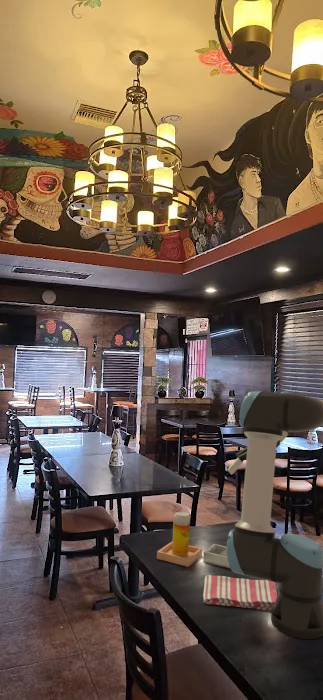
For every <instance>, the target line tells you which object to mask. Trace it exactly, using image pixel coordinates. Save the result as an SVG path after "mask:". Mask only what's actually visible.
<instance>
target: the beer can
mask: <svg viewBox="0 0 323 700" xmlns="http://www.w3.org/2000/svg"><path fill="white" fill-rule="evenodd" d="M172 523H173V524H172V540H171V542H172V553H173V555H176V556H180V557H186V556H187V554H188V549H189V546H190V544H189V543H190V525H191V516H190V513H188V512H186V511H177V512H174V515H173V522H172Z"/></svg>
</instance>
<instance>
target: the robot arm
mask: <svg viewBox="0 0 323 700" xmlns="http://www.w3.org/2000/svg"><path fill="white" fill-rule="evenodd" d="M238 417H239V420H238V421H239V422H238V424H239V426H240V427H242V428H244V429H243V434H244V435H245V436H246V437H247V446H246V447H245V448H243V449H242V450H240V451H238V452H237V453H236V454H235V456H236V459H235V460H234V461H233V463H232V464H231V465H230V466H229V467H228V468H227V469H226V470H227V471H228V473H229V474H230V475H233V474H234V473H235V472H236V471H237V470H238V469H239V468H240V466H242V465H243V463H244V461H246V462H245V471H244V481H243V483H244V484H243V492H242V493H243V494H242V504H241V516H240V520H239V521H238V522H236V523H235V524H234V529H231V530H229V532H228V535H227V542H226V547H227V559H228V564H229V567H230V568H229V569H230V570H231V571H232V572H233V573H234V574H239V575H242V576H244V577H251V578H254V579H255V578H256V579H258V580H268V581H272V582H275V583H278V591H277V594H278V595H277V597H276V600H275V603H274V605H273V608H272V610H271V611H270V621H271V624H272V625H273V627H275V629H277V630H278V631H279V632H281V633H283V634H285V635H287V636H290V637H292V638H295V639H296V638H297V639H303V640H315V639H319V638H323V601H322V600H323V599H322V598H323V597H322V595H323V548H322V547H321V546H320V544H318V543H317V542H316V541H314V540H313V539H311V538H309V537H305V536H303V535H299V534H294V533H292V534H291V533H284V534H282V536H281V537H280V538H277V537H276V536H275V534H276V531H275V529H274V528H273V527H272V525H271V517H272V504H273V493H274V492H273V491H274V481H275V479H274V477H275V470H276V469H275V468H276V466H275V465H276V458H277V457H276V455H277V452H278V450H277V449H278V447H279V446H280V445H281V443H283V441H284V440H285V439H286V438H287V436H289V435H290V434H291V433H304V432H308V431H311V430H312V431H313V430H315V429H319V428H320V427H322V426H323V398H315V397H310V396H306V395H302V394H298V393H292V392H289V391H281V392H274V391H263V390H261V391H257V390H256V391H248V393H246V394H245V396H244V398H243V400H242V403H241V405H240V410H239V415H238Z"/></svg>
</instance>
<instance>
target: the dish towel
mask: <svg viewBox="0 0 323 700" xmlns="http://www.w3.org/2000/svg"><path fill="white" fill-rule="evenodd" d="M277 595H278V591H277V587H276V582H272V581H268V580H263V579H248V578H238V577H237V578H235V577H231V576H226V575H225V576H224V575H212V574H206V575H205V576H204V585H203V594H202V598H203V604H206V605H215V606H216V605H218V606H225V607H235V608H236V607H238V608H247V609H255V610H261V611H268V612H271V611H272V608H273V605H274V603H275V600H276V597H277Z"/></svg>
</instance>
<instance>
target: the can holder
mask: <svg viewBox="0 0 323 700" xmlns="http://www.w3.org/2000/svg"><path fill="white" fill-rule="evenodd" d="M202 556H203V558H202V562H203V563H206V564H210V565H214V566H218V567H223V568H226V569H230V567H229V564H228V559H227V545H226V546H225V545H220V544H217V543H212V544H211V545H210V546H209V547H208V548H206V550H204V551H203V555H202Z"/></svg>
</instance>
